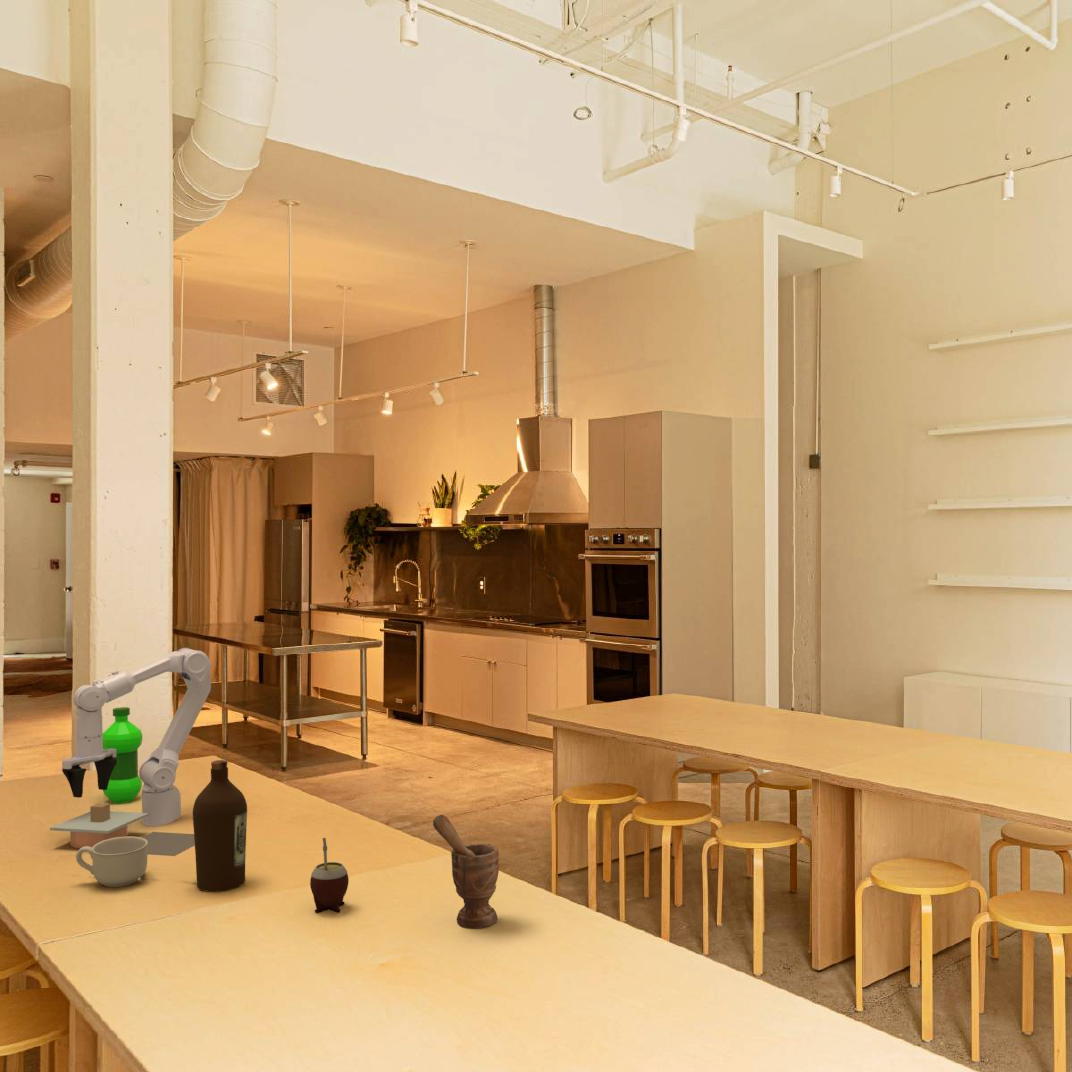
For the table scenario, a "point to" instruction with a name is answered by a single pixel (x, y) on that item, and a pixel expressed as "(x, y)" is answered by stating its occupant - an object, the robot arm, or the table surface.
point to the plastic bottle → (123, 757)
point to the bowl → (94, 837)
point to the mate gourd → (329, 884)
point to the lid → (99, 820)
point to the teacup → (116, 860)
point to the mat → (168, 843)
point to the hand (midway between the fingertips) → (90, 793)
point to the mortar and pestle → (472, 876)
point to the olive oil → (220, 832)
